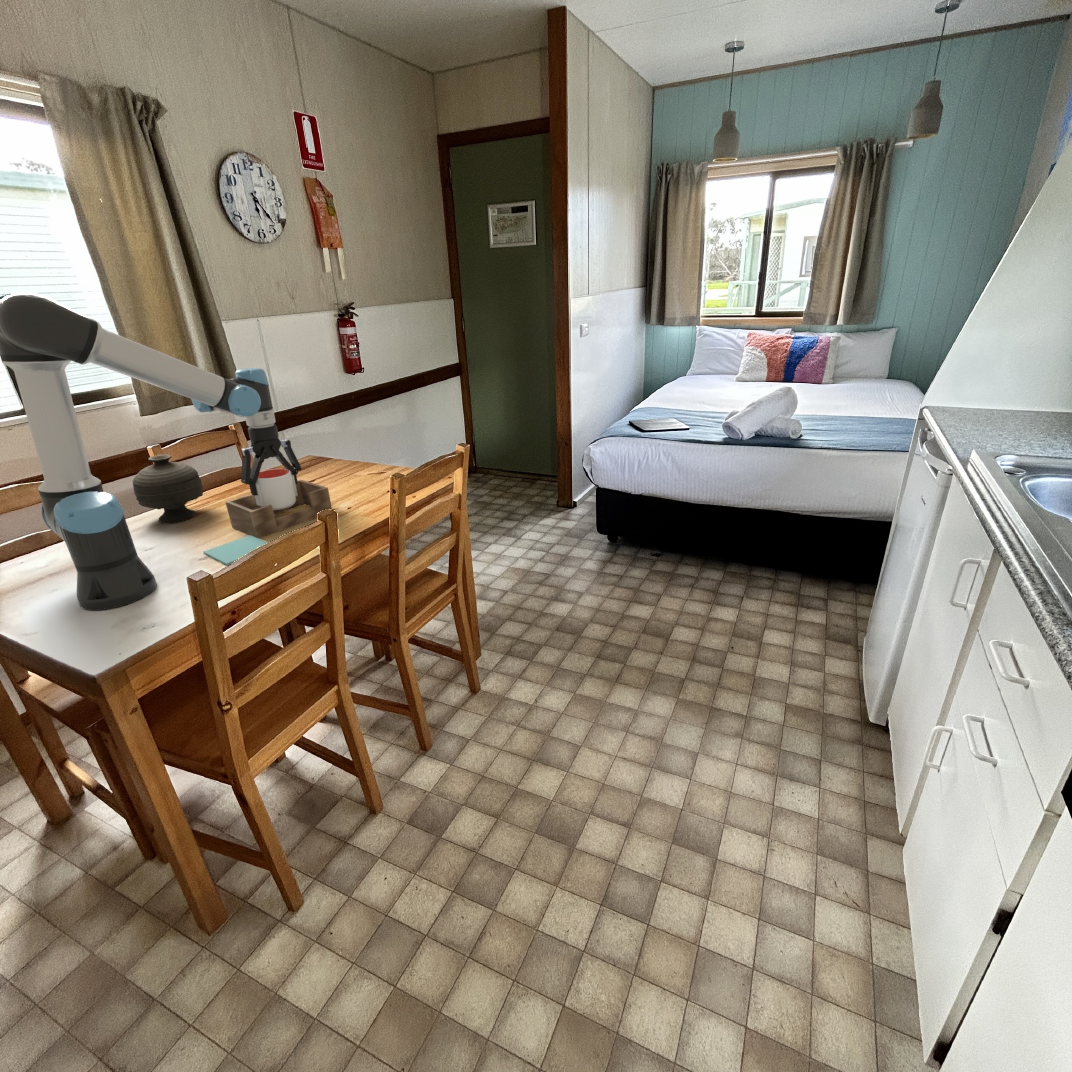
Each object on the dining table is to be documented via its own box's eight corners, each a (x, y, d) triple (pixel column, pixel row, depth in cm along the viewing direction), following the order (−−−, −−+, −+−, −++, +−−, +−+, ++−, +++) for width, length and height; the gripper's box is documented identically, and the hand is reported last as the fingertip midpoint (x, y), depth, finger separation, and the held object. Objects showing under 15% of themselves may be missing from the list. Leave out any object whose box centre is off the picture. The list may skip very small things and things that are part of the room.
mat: (227, 565, 148) (226, 563, 147) (203, 553, 155) (203, 551, 155) (275, 547, 157) (274, 545, 157) (250, 536, 164) (250, 535, 164)
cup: (283, 512, 168) (277, 479, 164) (253, 510, 170) (245, 478, 166) (303, 501, 177) (297, 469, 173) (274, 499, 179) (267, 468, 175)
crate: (258, 538, 163) (251, 512, 160) (232, 527, 172) (225, 501, 168) (332, 512, 180) (327, 487, 177) (305, 503, 189) (300, 479, 186)
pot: (225, 508, 185) (201, 448, 176) (172, 533, 171) (144, 470, 162) (189, 502, 193) (166, 444, 184) (137, 526, 179) (108, 465, 170)
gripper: (228, 434, 154) (246, 513, 163) (305, 419, 170) (318, 492, 179) (215, 431, 158) (233, 508, 167) (291, 416, 175) (305, 488, 183)
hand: (277, 500), depth 173 cm, fingers closed on cup, 10 cm apart
